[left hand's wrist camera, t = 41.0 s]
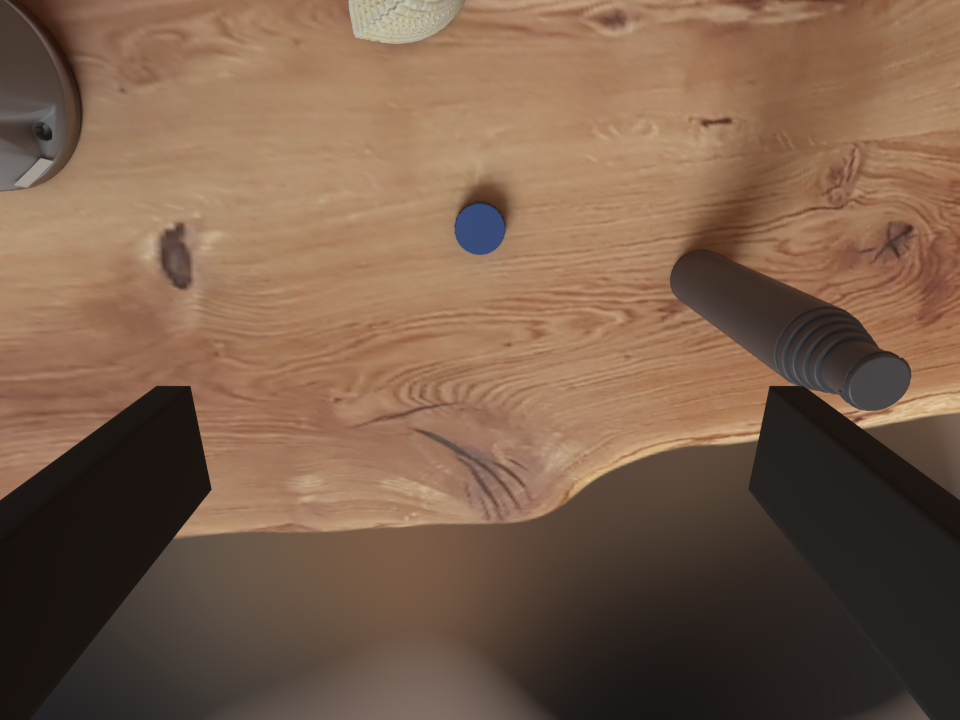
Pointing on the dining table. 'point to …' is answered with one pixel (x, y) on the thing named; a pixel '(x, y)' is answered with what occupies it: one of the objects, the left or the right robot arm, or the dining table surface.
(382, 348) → the dining table surface
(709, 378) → the dining table surface
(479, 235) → the cap
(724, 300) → the bottle
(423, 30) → the cream knitted hat
